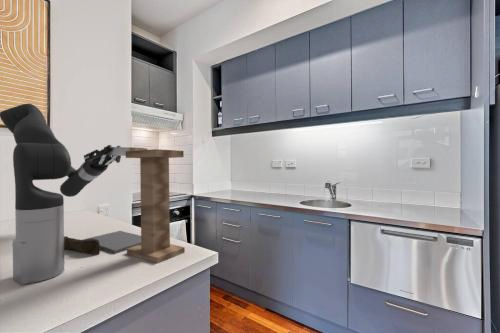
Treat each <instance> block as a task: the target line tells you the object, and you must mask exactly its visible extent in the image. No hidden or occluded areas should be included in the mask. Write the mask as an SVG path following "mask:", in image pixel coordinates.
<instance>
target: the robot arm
mask: <svg viewBox="0 0 500 333" xmlns="http://www.w3.org/2000/svg"><path fill="white" fill-rule="evenodd" d="M0 120H1V121H2V123H3V125H4V126H5V127H6V128H7V129H8V131H10V132H11V133H12V135H13V139H14V142H15V144H16V145H15V146H14V148H13V151H12V152H13V154H12V163H13V164H12V165H13V166H12V167H13V174H14V175H13V176H14V189H15V196H14V197H15V201H14V202H15V203H14V204H15V205H14V206H15V208H14V209H15V215H14V216H15V239H13V240H12V280H14V281H15V282H17V283H18V284H19V285H21V286H22V285H26V284H31V283H38V282H42V281H45V280H50V279H51V278H54V277H56V276H59V275H61V274H62V273H63V272H64V271H65V248H64V236H65V215H64V213H65V212H64V210H65V209H64V208H65V205H64V204H65V203H64V200H65V198H64V196H65V197H68V198H69V197H75V196H77V195H78V194H79V193H81V191H82V190H83V189H84V188H85V187H86V186H87V185H89V184H90V183H92V181H94V180H96V179H97V178H98V177H100V176H101V175H102V174H103V173H104V172H105V171H107V169H108V168H109V165H111V164H112V163H114V162H116V163H117V164H119V163H120V162H121V159H122V156H117V155H106V154H108V153H109V152H111V151H112V147H113V146H112V144H108V145H106V146H104V147H105V148H104V147H103V148H101V149H100V150H99V149H95V150H93V151H90V152H88V153H87V154H84V155H83V160H84V161H83V163H81V165H80V166H79V168H77V169H76V168H74V167H73V166H72V161H71V154H70V153H69V151H68V149H67V148H66V146H65V145H64V144H62V142H60V141H59V140H58V138H56V136H55V134H54V132H53V130H52V129H51V127H50V126H49V125H48V124H47V121H46V117H45V116H44V114H43V112H42V111H41V110H40V109H39V108H38V107H37V106H35V105H34V104H33V103H22V104H20V105H16V106H14V107H10V108H7V109H5V110H2V111H0ZM116 147H122V146H121V145H117V146H116ZM65 177H67V179H66V180H65V181H64V182H62V183H61V184H60V186H59V190H60V193H58V192H52V191H48V190H44V189H42V188H40V187H38V186H36V185H35V184H34V183H33V181H42V180H43V181H45V180H58V179H59V180H60V179H63V178H65Z"/></svg>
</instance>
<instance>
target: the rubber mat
mask: <svg viewBox="0 0 500 333" xmlns="http://www.w3.org/2000/svg"><path fill="white" fill-rule="evenodd" d="M86 239H97V240H99V244H100V250H104V251H106V252H110V253H112V254H115V255H116V254H119V253H121V252H125V251H127V248H130V247H134V246H137V245H140V244H141V234H140V235H139V234H135V233H131V232H128V231H127V232H126V231H122V230H118V231H113V232H108V233H105V234H100V235H97V236H91V237H87V238H83V239H82V240H86Z"/></svg>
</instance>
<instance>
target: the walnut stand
mask: <svg viewBox="0 0 500 333" xmlns="http://www.w3.org/2000/svg"><path fill="white" fill-rule="evenodd" d="M184 155H185V154H184V150H173V149H158V148H156V149H153V148H152V149H147V150H139V151H126V156H125V159H140V160H139V165H140V166H139V167H140V168H139V170H140V172H139V173H140V176H139V177H140V178H139V179H140V236H141V244H140V245H137V246H134V247H130V248H127V250H126V254H127V255H131V256H134V257H137V258H140V259H144V260H146V261H150V262H152V263H155V264H159V263H162V262H164V261H167V260H169V259H171V258H174V257H176V256H178V255H182V254H184V253H185V252H186V251H185V250H186V248H185V247H184V246H181V245H176V244H172V243H171V233H170V232H171V227H170V221H171V220H170V218H171V217H170V158H171V159H172V158H173V159H174V158H177V159H178V158H184Z"/></svg>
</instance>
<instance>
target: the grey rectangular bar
mask: <svg viewBox="0 0 500 333" xmlns="http://www.w3.org/2000/svg"><path fill="white" fill-rule="evenodd" d="M105 147H106V146H103V149H104V148H105ZM139 150H148V148H145V147H123V146H121V147H117V146H112V151H111V152H109V153H108V154H106V155H117V156H121V157H126V151H139Z"/></svg>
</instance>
